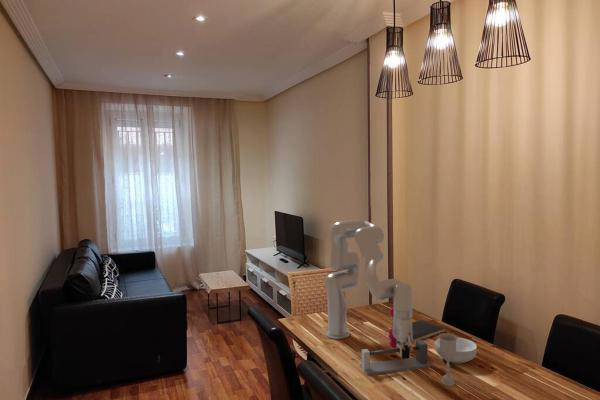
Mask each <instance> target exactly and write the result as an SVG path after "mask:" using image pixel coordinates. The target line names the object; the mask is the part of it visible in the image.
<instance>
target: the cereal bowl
mask: <svg viewBox="0 0 600 400" xmlns="http://www.w3.org/2000/svg"><path fill="white" fill-rule="evenodd" d="M434 347H435V351H436V353H437V354H438V356H439V357H441V358H442V359H444V358H443V355H442V353H441V350H440V338H437V339H436V340H435V342H434ZM477 351H478V346H477V344H476V343H475V342H474V341H472V340H471V339H470V340H469V339H467V338H463V337H458V336H457V340H456V352H455V355H454V357H453V359H452V360H451V361H449V363H452V364H464V363H467V362H470V361H471V360H474V358H475V357H476V355H477V353H478V352H477Z"/></svg>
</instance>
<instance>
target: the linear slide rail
mask: <svg viewBox="0 0 600 400" xmlns="http://www.w3.org/2000/svg"><path fill="white" fill-rule="evenodd" d="M414 351H415V357H410V358H407V359H402V358H400V359H399V358H398V359H393V360H384V361H376V362H371V356H374V355H375V356H376V355H383V354H394V353H397V352H400V348H398V349H397V348H390V349H381V350H373V351H369V349H368V348H363V349H361V363H360V365H359V366H360V368H361V370H362V371H363V373H364V374H366V375H367V376H372V375H373V376H375V375H380V374H389V373H395V372H403V371H410V370H411V371H412V370H420V369H427V368H429V369H430V368H431V367H432V365H431V363H430V362H428V343H427V342H426V341H425V340H424V339H421V340H418V341H415V346H413V345H412V346H411V347H410V353H413V352H414Z"/></svg>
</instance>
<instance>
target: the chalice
mask: <svg viewBox="0 0 600 400" xmlns="http://www.w3.org/2000/svg"><path fill="white" fill-rule="evenodd" d="M438 337H439V338H440V350H441V353H442V355H443V358H442V359H444V360H445V361H446V364H445V366H446V369H445V371H446V374H445V375H443V376H442V379H441V381H440V382H441V384H443V385H444V386H447V387H448V386H450V387H451V386H454V385H455V384H456V383H455V381H454V380H455V379H454V378H453V376H452V375H450V372H451V369H450V367H451V365H450V362H449V361H451V360H452V359H453V357H454V355H455V352H456V340H457V337H458V336H456V335H455V334H453V333H448V332H441V333H438ZM439 338H438V339H439Z"/></svg>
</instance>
